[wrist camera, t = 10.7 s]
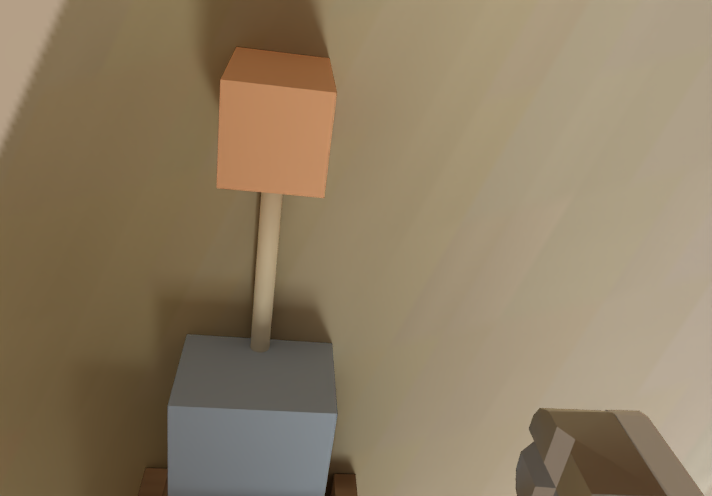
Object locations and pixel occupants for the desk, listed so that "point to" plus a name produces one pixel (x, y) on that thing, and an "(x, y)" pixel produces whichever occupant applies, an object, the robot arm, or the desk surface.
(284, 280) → the desk surface
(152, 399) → the desk surface
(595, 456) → the robot arm
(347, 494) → the shelf
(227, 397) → the cube on a stick
